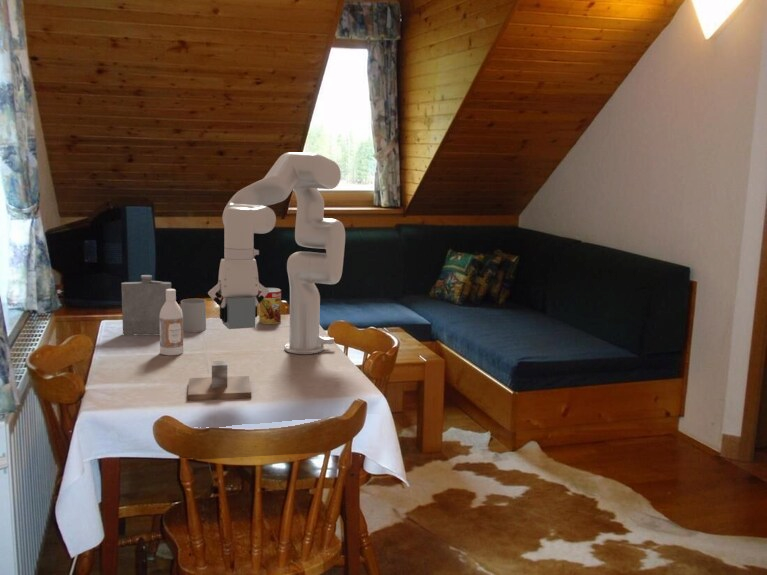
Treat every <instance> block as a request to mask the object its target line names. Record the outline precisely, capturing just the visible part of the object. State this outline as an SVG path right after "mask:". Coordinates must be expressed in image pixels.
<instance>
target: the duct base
mask: <svg viewBox="0 0 767 575" xmlns="http://www.w3.org/2000/svg"><path fill="white" fill-rule="evenodd" d="M187 386H188V388H187V401H203V400H204V401H205V400H208V399H210V400H228V399H231V400H232V399H252V388H251V381H250V376H249V375H242V376H241V375H240V376H239V375H238V376H237V375H236V376H228V361H227V360H215V361H214V360H213V361H211V376H209V377H208V376H206V377H189V378H188V385H187Z"/></svg>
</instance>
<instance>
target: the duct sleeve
mask: <svg viewBox="0 0 767 575" xmlns="http://www.w3.org/2000/svg"><path fill="white" fill-rule="evenodd" d="M255 297H256V296H255ZM255 297H243V298H227V304H226V308H227V322H226V323H224V322H223V321H222V324H223V325H224V326H225V327H226V329H228V330H238V329H240V330H241V329H252V328H256V317H255Z"/></svg>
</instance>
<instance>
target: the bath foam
mask: <svg viewBox="0 0 767 575" xmlns="http://www.w3.org/2000/svg"><path fill="white" fill-rule="evenodd" d="M176 293H177V290H176V289H175V288H171V289H166V302H165V304H164V305H163V307H162V308H161V311H160V316H159V322H160V335H159V350H160V352H159V353H160V354H161V355H164V356H167V357H169V356H170V357H171V356H172V357H173V356H178V355H181V354H183V352H184V331H183V313H182V310H181V305H179V304H178V302H177V301H176V300H177V296H176V295H177V294H176Z"/></svg>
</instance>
